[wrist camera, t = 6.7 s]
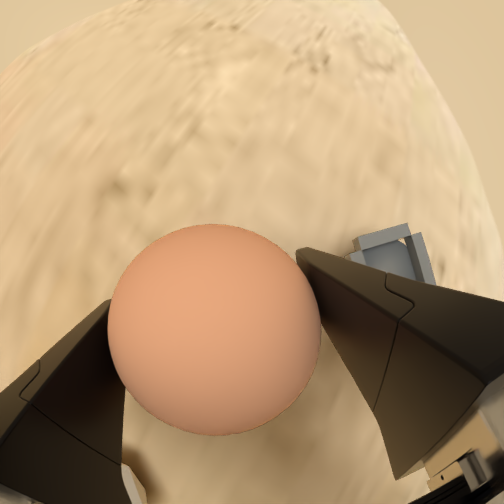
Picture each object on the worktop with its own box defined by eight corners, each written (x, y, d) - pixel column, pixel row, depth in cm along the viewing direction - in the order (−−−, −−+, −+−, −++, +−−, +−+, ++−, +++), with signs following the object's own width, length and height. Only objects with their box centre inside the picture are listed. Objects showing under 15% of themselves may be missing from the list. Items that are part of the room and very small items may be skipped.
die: (141, 429, 22) (26, 434, 14) (194, 521, 16) (75, 555, 9) (110, 462, 24) (19, 468, 16) (151, 537, 18) (57, 558, 11)
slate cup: (400, 301, 23) (439, 299, 17) (342, 322, 22) (369, 327, 17) (382, 238, 23) (416, 219, 18) (323, 256, 23) (345, 240, 18)
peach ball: (330, 294, 12) (398, 283, 6) (253, 425, 11) (253, 513, 5) (196, 219, 12) (152, 148, 6) (123, 347, 12) (31, 372, 6)
